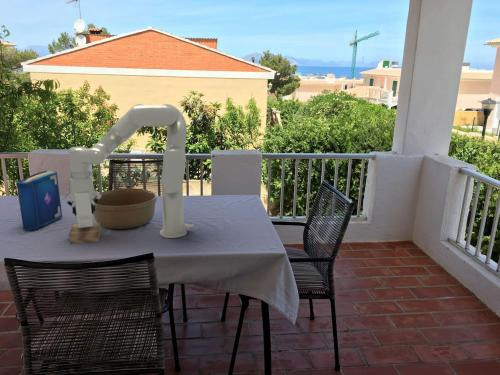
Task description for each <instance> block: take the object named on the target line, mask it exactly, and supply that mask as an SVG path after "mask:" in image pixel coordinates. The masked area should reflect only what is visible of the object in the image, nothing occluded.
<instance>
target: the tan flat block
mask: <svg viewBox="0 0 500 375" xmlns="http://www.w3.org/2000/svg"><path fill="white" fill-rule="evenodd" d="M101 232H102V231H101V222H93V226H91V227H83V228H78V223H77V224H71V228H70V230H69V233H68V237H69V238H68V239H69V245H70V244H71V245H73V244H74V245H75V244H84V243H96V242H98V243H99V242H100V238H101Z"/></svg>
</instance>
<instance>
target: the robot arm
mask: <svg viewBox="0 0 500 375" xmlns="http://www.w3.org/2000/svg"><path fill="white" fill-rule="evenodd" d="M142 127H167V128H166V129H167V130H166V132H167V133H166V143H165V149H164V152H163V159H162V160H163V161H162V166H161V167H162V169H161V176H160V186H161V206H162V207H161V210H162V228H161V229H160V231H159V235H160V236H161V237H162V238H166V239H176V238H177V239H178V238H182V237H184V236H186V235H187V233H188V229H194V226H195V225H194V224H193V223H191V224H190V223H184V192H183V191H184V190H183V189H184V188H183V187H184V185H183V184H184V179H185V170H186V163H187V162H186V161H187V156H186V144H187V142H186V141H187V132H188V131H187V128H188V127H187V123H186V119H185V117H184V115H183V113H182V112H181V111H180V110H179V109H178V108H176V107H175V105H172V104H169V103H164V104H162V105H145V104H142V103H137V104H134V105H133V106H132V107H131V108H130V109H129V110H128V111H126V112H125V113H124V115H122V117H120V118H119V119H118V120H117V121H116V122H115V123H114V124H113V125H111V127H110V128H109V130H108V131H107V133H106V134H105V135H104V136H103V137H102V138H101V139H99V140H98V141H97V143H95V144H94V145H93V146H92V147H90V148H87V147H86V146H73V147H70V148H69V149H68V154H69V155H68V156H69V157H68V158H69V167H70V168H69V169H70V176H71V177H69V180H68V181H69V183H68V185H69V187H68V188H69V192H68V193H67V194H66V195H65V196H64V197H63V201H64V202H65V203H66V204H67V205H69V206H70V207H71V209H72V214H74V217H77V215H76V207H75V196H74V194H75V193H85V192H89V193H90V200H91V209H92V215H94V214H95V212H96V206H95V205H96V204H97V203H98V202H99V201H100V199H101V198H102V195H101V194H100V193H99V192H98V191H96V190H95V187H94V186H95V185H94V180H93V177H92V176H94V171H91V170H90V165H93V166H95V165H96V166H97V165H101V164H103V163H104V162H105V161H106V159H108V157H109V156H110V155H111V154H112V153H113V152H114V151H115V150H116V149H117V148H118V147H120V146H121V145H122V144H124V143H125V142H127V141H128V140H129V139H131V138H132V137H133V135H134V134H135V133H136V132H138V131H139V130H140V129H141V128H142ZM95 196H96V197H95ZM69 198H70V200H71V201H70V200H69Z"/></svg>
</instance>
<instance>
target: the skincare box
mask: <svg viewBox="0 0 500 375" xmlns="http://www.w3.org/2000/svg"><path fill="white" fill-rule="evenodd" d="M74 196H75V207H76V221H77V224H78V228H83V227H91V226H93V223H94V219H93V214H92V209H91V200H90V193H89V192H85V193H75V194H74Z"/></svg>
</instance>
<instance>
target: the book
mask: <svg viewBox="0 0 500 375" xmlns="http://www.w3.org/2000/svg"><path fill="white" fill-rule="evenodd" d="M15 184H16V190H17V196H18V202H19V209H20V215H21V216H20V217H21V221H22V227H23V229H24V230H26V231H28V232H29V231H32V232H34V231H36V230H38V229H41V228H45V227H46V226H48V225H50V224H53V223H54V222H56V221H57V220H59V219H61V218H62V217H63V213H62V212H63V211H62V204H61V195H60V194H61V193H60V188H59V187H60V186H59V178H58V173H57V171H52V170H49V171H47V170H43V171H41V172H40V171H39V172H37V173H33V174H31V175H28V176H26V177H25V178H24V179H21V180H18V181H17V182H16V183H15Z"/></svg>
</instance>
